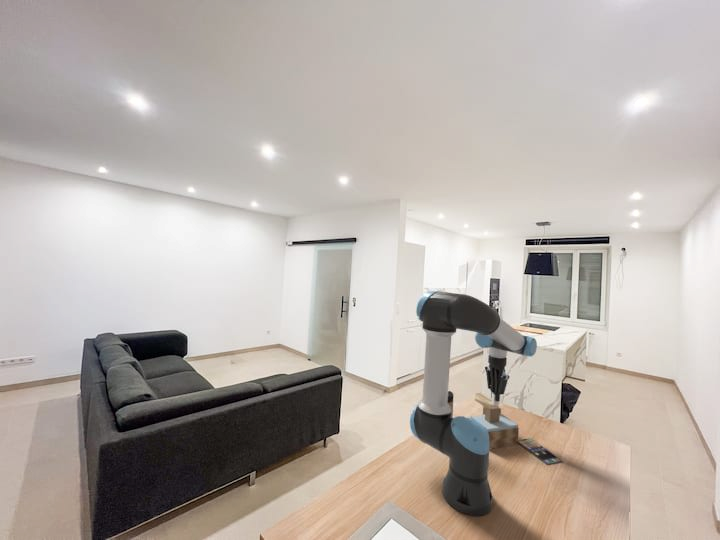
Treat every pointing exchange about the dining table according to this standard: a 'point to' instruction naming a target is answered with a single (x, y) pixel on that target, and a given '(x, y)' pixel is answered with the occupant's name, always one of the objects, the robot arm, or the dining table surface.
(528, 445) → the smartphone
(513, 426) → the lid
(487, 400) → the beige rectangular block
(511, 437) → the open wooden box
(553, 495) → the dining table surface
